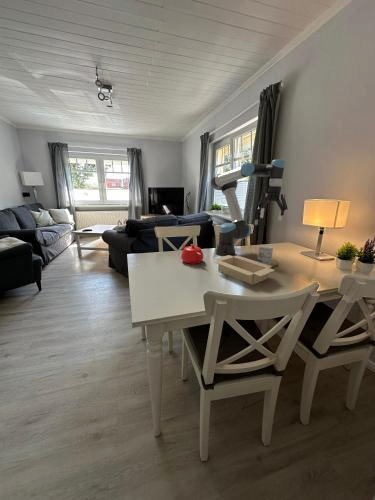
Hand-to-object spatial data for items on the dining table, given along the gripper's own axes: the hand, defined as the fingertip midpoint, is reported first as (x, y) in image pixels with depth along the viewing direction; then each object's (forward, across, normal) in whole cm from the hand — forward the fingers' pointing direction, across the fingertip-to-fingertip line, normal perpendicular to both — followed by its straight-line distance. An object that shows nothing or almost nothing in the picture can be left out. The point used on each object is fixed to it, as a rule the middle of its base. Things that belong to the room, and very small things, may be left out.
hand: (270, 219), depth 142 cm
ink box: (+29, +4, -7) cm, 30 cm away
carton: (+30, +7, -33) cm, 45 cm away
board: (+30, +4, -7) cm, 31 cm away
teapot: (+30, -29, -43) cm, 60 cm away
